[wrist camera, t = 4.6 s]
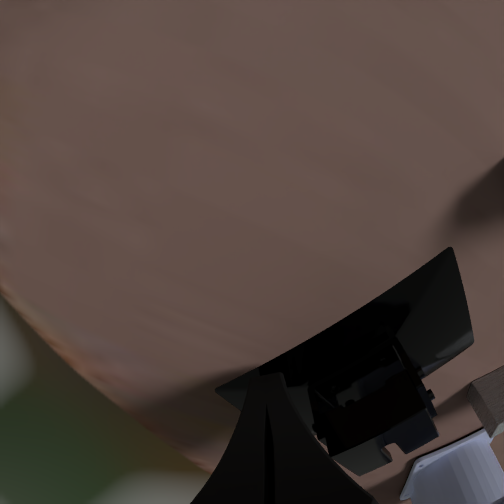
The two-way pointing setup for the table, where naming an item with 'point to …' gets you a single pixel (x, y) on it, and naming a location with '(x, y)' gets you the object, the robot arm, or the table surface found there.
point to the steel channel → (489, 401)
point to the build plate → (375, 368)
